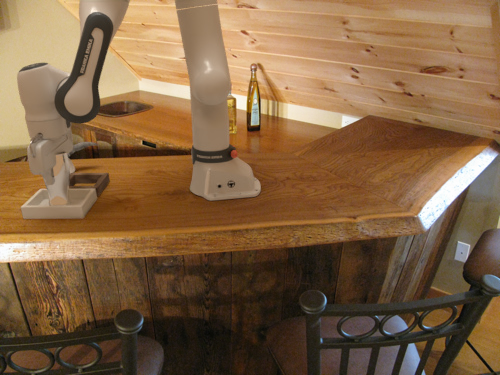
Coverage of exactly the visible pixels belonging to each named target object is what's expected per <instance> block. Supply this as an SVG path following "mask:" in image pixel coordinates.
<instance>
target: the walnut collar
mask: <svg viewBox="0 0 500 375" xmlns="http://www.w3.org/2000/svg"><path fill="white" fill-rule="evenodd" d="M109 183H110V174H109V172H74V173H71V174H70V182H69V189H85V188H95V189H96V195H97V198H99V197H100V196H101V194H102V193H103V191H105V189H106V187H107V186H108V184H109ZM76 184H94V185H76Z"/></svg>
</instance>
